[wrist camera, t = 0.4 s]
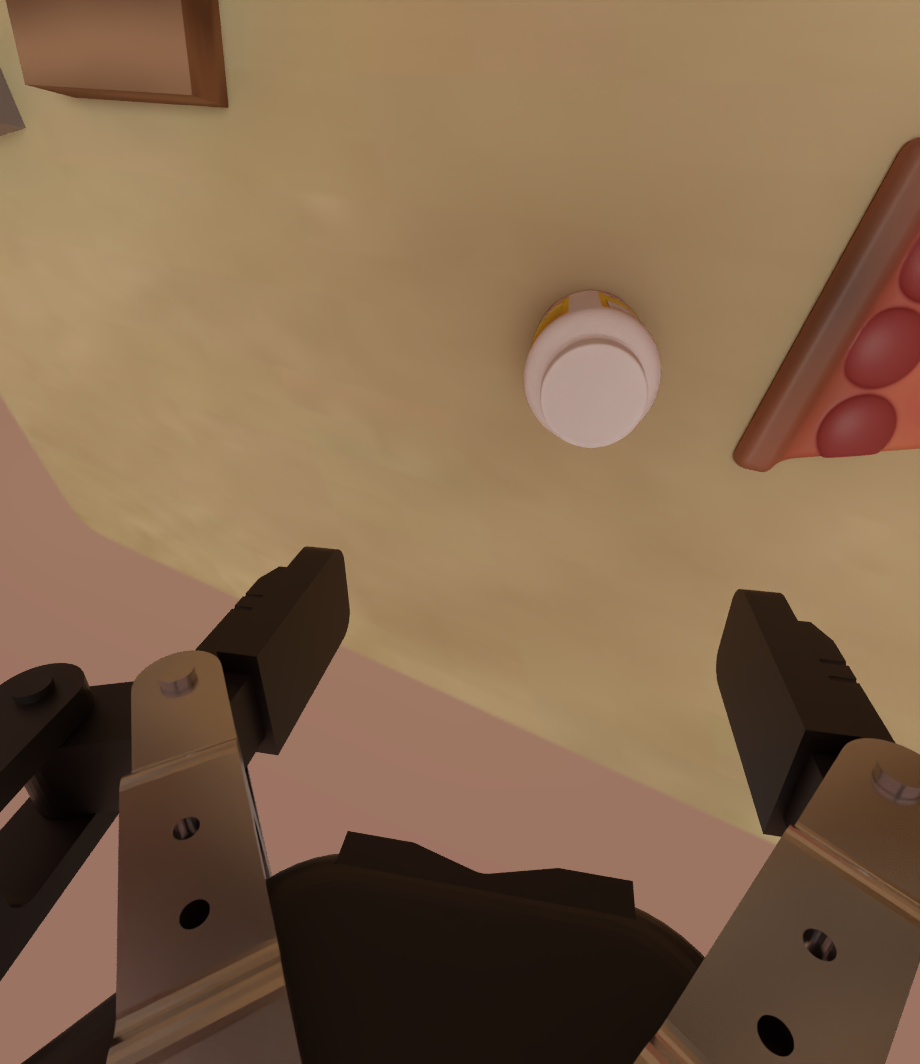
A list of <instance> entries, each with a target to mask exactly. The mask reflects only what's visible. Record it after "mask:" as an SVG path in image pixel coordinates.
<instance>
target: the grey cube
mask: <svg viewBox="0 0 920 1064" xmlns="http://www.w3.org/2000/svg"><path fill="white" fill-rule="evenodd" d="M23 128H26V127H25V125H24V123H23V120H22V118H21V115H20V113H19V111H18V108H17V106H16V104H15V101H14V99H13V97H12V94H11V92H10V90H9V87H8V85H7V83H6V80H5V78H4V76H3V73H2V71H1V69H0V136H1V135H4V134H7V133H11V132H14V131H17V130H20V129H23Z"/></svg>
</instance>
